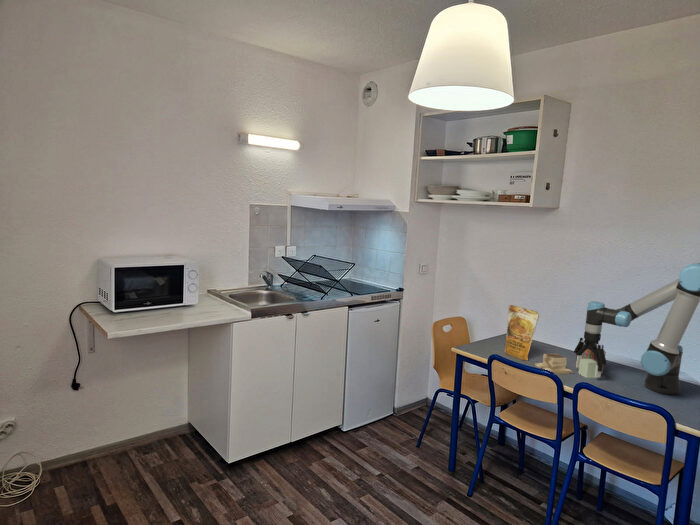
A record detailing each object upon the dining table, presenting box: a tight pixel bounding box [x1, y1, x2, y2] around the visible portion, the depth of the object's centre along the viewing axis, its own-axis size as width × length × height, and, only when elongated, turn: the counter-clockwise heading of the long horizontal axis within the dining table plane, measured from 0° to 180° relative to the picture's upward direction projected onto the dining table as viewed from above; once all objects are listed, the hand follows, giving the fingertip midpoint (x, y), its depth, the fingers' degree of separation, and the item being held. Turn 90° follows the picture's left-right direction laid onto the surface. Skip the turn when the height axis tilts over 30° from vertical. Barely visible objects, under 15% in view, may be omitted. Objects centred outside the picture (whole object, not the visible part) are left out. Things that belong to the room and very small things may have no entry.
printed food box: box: [582, 348, 607, 375], centre depth 259 cm, size 21×6×12 cm, turn 165°
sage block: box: [577, 359, 598, 379], centre depth 245 cm, size 6×6×8 cm
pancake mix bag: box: [504, 304, 540, 361], centre depth 270 cm, size 7×19×28 cm, turn 31°
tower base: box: [534, 353, 574, 375], centre depth 251 cm, size 14×13×7 cm
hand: (587, 372), depth 245 cm, fingers open, 13 cm apart
